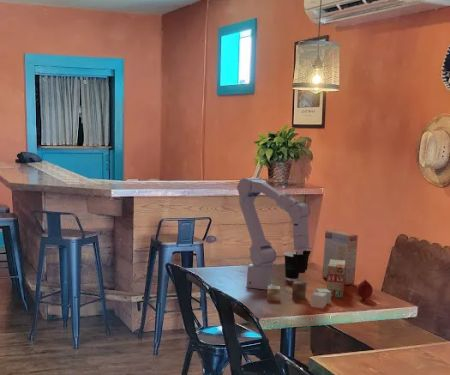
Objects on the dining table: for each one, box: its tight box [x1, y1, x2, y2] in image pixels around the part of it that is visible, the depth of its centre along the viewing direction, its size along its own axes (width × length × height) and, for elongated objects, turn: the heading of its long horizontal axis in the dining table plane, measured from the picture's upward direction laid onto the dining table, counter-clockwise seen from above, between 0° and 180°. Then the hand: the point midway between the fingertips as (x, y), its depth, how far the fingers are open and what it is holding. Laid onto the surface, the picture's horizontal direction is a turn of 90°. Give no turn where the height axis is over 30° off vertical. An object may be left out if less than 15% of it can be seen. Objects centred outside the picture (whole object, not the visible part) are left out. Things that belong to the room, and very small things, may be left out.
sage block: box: [314, 288, 332, 305], centre depth 228 cm, size 4×4×4 cm
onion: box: [356, 278, 373, 301], centre depth 234 cm, size 6×6×8 cm
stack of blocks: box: [326, 259, 346, 299], centre depth 245 cm, size 21×6×12 cm, turn 167°
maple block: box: [266, 285, 281, 302], centre depth 229 cm, size 4×4×4 cm
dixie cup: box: [283, 251, 300, 282], centre depth 259 cm, size 8×8×11 cm
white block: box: [310, 291, 327, 309], centre depth 223 cm, size 4×4×4 cm
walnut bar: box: [291, 280, 307, 301], centre depth 231 cm, size 4×4×6 cm
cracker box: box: [321, 229, 359, 286], centre depth 260 cm, size 14×6×21 cm, turn 33°
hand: (303, 271), depth 231 cm, fingers open, 7 cm apart
